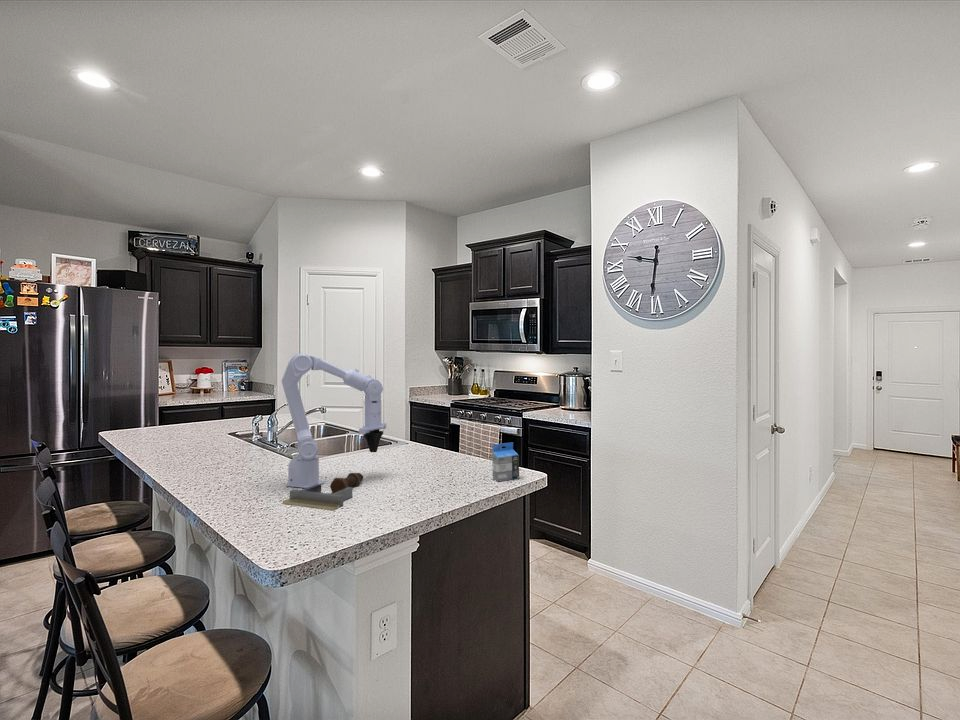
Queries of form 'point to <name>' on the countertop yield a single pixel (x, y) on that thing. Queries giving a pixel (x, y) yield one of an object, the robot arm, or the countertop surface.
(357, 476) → the bolt
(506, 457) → the label tape box
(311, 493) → the grey shallow rectangular tray
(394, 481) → the countertop surface
